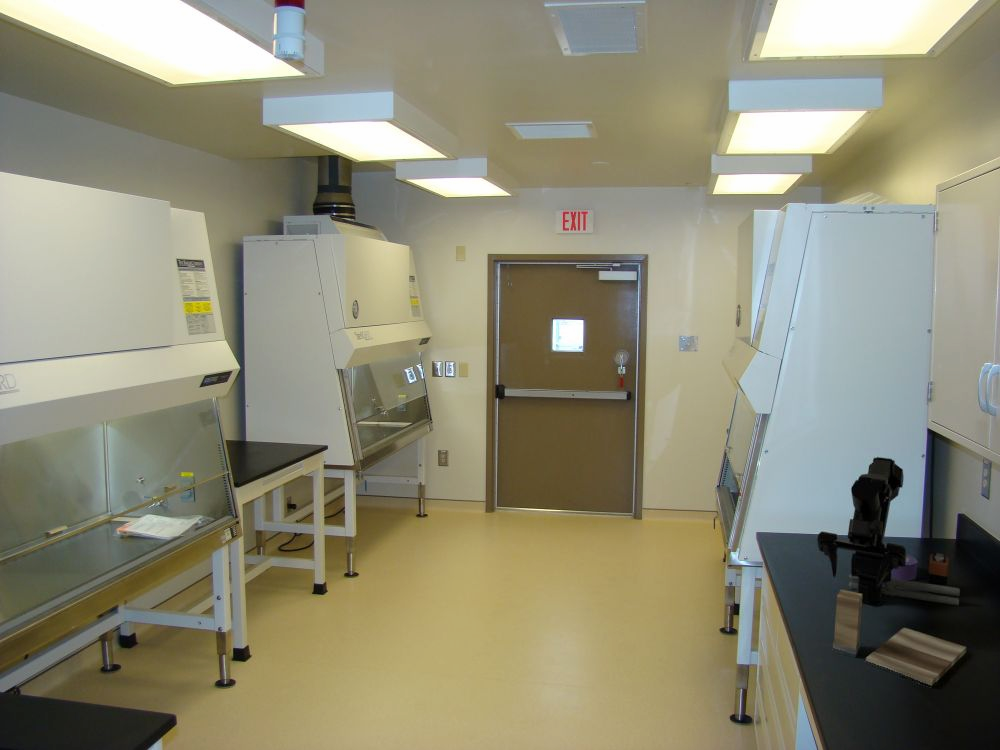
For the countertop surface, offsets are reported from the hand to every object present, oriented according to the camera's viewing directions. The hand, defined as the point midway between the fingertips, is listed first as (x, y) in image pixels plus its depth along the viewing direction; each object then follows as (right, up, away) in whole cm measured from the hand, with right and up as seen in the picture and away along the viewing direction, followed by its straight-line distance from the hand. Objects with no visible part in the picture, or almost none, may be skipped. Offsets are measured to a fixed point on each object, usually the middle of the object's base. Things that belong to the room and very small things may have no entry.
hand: (855, 581), depth 174 cm
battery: (+36, -11, +29) cm, 47 cm away
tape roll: (+30, -10, +42) cm, 53 cm away
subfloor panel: (+9, -15, -8) cm, 19 cm away
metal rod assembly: (+24, -11, +26) cm, 37 cm away
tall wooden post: (-5, -14, -5) cm, 16 cm away
